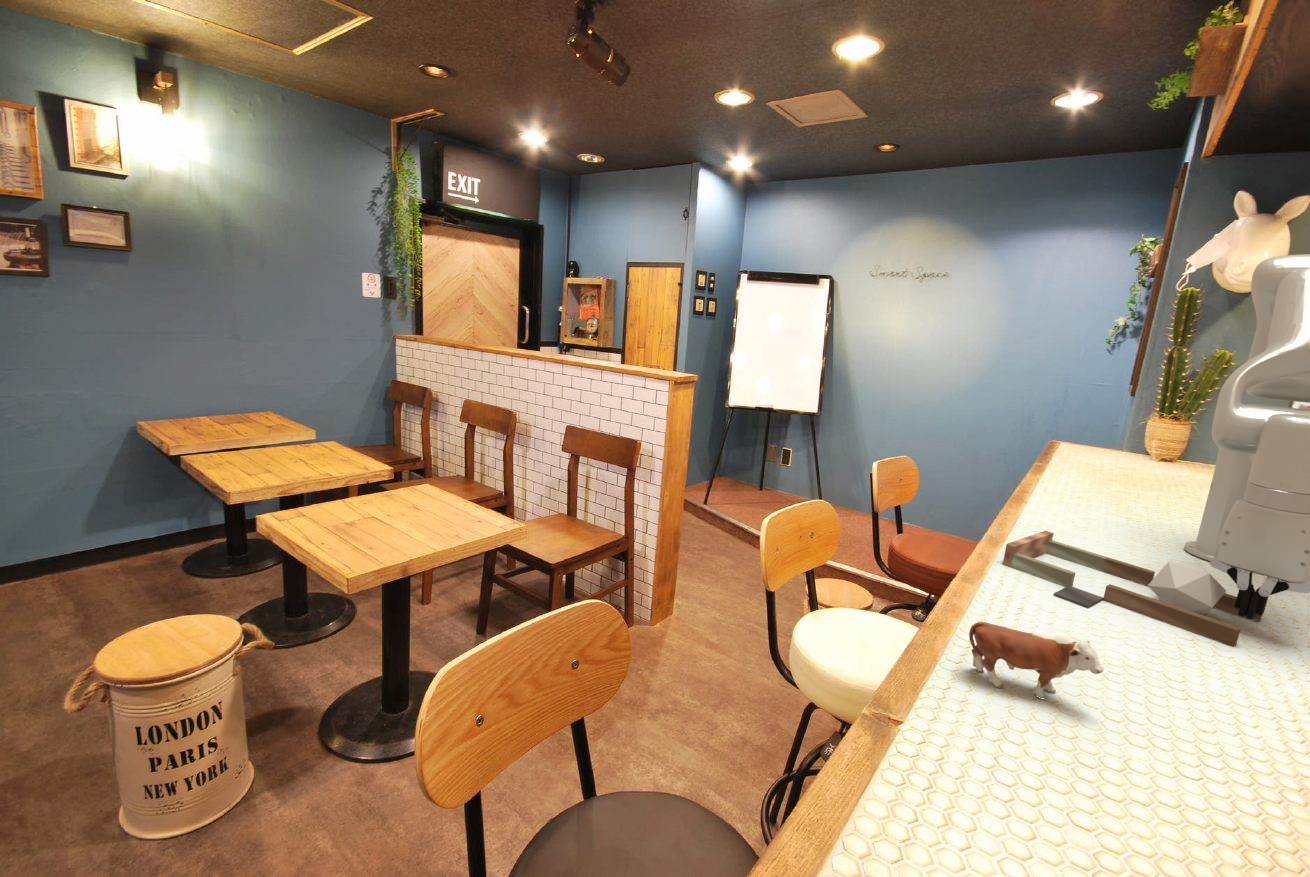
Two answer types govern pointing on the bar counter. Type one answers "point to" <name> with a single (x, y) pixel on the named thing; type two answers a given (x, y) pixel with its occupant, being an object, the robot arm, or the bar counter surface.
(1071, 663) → the bull figurine
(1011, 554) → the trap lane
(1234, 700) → the bar counter surface
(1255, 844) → the bar counter surface
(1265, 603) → the robot arm
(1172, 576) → the die
